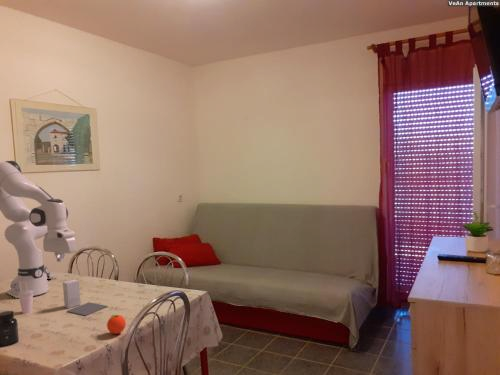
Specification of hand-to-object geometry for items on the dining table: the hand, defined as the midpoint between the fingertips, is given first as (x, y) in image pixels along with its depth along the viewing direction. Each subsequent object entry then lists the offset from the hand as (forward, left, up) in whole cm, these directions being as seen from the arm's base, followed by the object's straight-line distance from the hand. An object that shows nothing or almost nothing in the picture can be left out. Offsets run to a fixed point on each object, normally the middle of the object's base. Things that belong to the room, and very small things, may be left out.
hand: (60, 261), depth 187 cm
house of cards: (-52, +28, -22) cm, 63 cm away
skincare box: (+7, 0, -21) cm, 22 cm away
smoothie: (-6, -14, -21) cm, 26 cm away
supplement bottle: (+20, -37, -21) cm, 47 cm away
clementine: (+50, -13, -21) cm, 56 cm away
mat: (+17, 0, -21) cm, 27 cm away
